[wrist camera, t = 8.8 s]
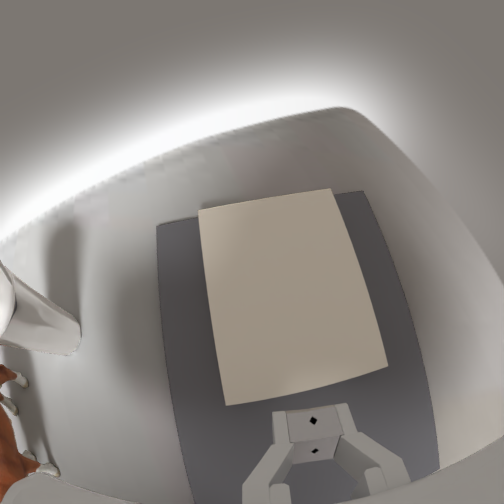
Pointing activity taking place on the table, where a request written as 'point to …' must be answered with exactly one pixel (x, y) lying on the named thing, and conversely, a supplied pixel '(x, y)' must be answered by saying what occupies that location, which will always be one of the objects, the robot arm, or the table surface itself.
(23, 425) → the table surface
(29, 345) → the milkshake
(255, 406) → the mat
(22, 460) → the bull figurine
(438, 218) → the table surface
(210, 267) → the tile
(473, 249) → the table surface
